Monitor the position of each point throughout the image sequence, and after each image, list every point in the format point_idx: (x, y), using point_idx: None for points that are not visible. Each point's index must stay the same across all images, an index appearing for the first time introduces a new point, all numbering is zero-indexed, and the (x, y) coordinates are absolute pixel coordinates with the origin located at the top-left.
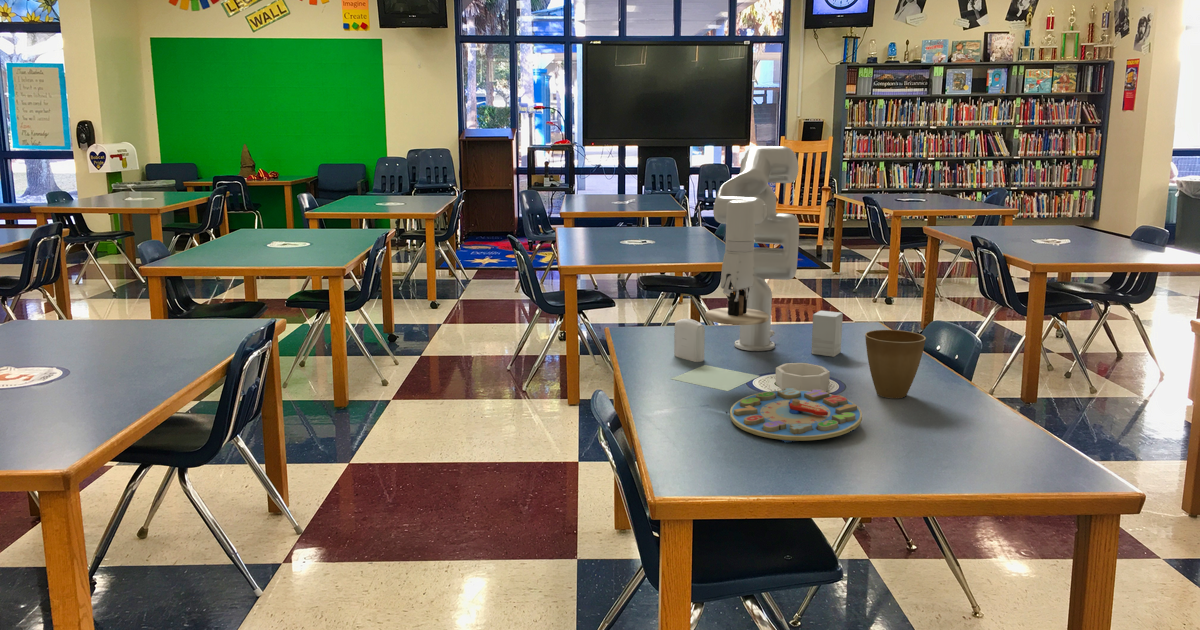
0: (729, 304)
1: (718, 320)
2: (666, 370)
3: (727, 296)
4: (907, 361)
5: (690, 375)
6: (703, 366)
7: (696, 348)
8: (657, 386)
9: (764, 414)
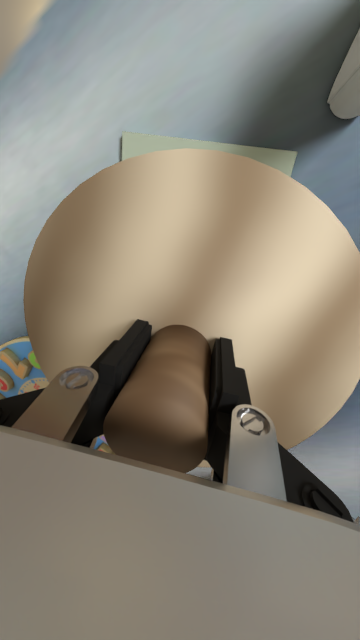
0: (94, 363)
1: (29, 307)
2: (210, 53)
3: (3, 405)
4: None
5: None
6: (279, 156)
7: (353, 73)
8: (69, 128)
9: (28, 385)
